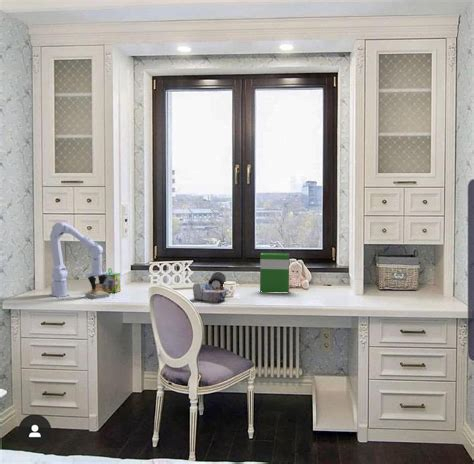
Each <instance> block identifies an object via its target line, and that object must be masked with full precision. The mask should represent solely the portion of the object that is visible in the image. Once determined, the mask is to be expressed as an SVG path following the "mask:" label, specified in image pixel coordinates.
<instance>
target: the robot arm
mask: <svg viewBox="0 0 474 464" xmlns="http://www.w3.org/2000/svg"><path fill="white" fill-rule="evenodd" d="M51 228H52V230H51V232H50V235H49V239H50V245H51V246H50V247H51V251H52V252H51V253H52V259H53V265H54V266H53V268H52V274H51V277H52V280H53V281H52V282H51V289H50V291H51V292H50V294H49V296H53V297H57V298H59V297H60V298H61V297H67V296H70V294H68V293H67V292H68V289H67V287H68V286H67V285H68V282H67V278H68V276H69V272H68V270H67V268H66V265H65V264H64V259H63V252H62V246H61V238H62V236H63V235H64V234H69V235H72V236H73V237H74V238H75V239H76V240H78V241H79V242H80V243H81V246H83V247H84V248H85V249H87V250H88V251H89V253H90V254H91V271H92V272H90V273H85V274H84V275H85V278H87V280H88V281H89V283H90V285H91V286H90V287H91V290H92V289H95V284H96V281H97V278H98V283H99V284H102V287H103V283H104V281H105V279H106V276H105V275H108V273H109V271H103V254H102V253H104V248H103V246H102V245H101V244H98V243H97V242H94V240H93V239H92V238H91V237H88V236H86V237H85V236H84V235H83V234H82V233H80V232H79V230H77V229H76V228H75V227H74V226H73V225H72V224H70V223H69V222H67V221H62V222H60V221H59V222H55V223H54V224H53V226H52V227H51ZM96 277H97V278H96Z"/></svg>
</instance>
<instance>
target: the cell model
mask: <svg viewBox="0 0 474 464" xmlns="http://www.w3.org/2000/svg"><path fill="white" fill-rule="evenodd" d="M208 283H209V282H207V281H199V282H195V283H194V284H193V286H192V292H193V299H194V300H199V301H202V300H203V302H207V301H211V302H210V303H219V302H218V301H220V302H223V301H224V300H225V299H226V298H227V295H229V294H228V292H229V289H227V288H225V287H224V288H223V287H222V286H221V287H220V288H219V289H218V287H216V289H214V287H213V286H212V285H208ZM226 292H227V293H226ZM222 300H223V301H222ZM212 301H213V302H212Z"/></svg>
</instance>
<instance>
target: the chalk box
mask: <svg viewBox="0 0 474 464" xmlns="http://www.w3.org/2000/svg"><path fill="white" fill-rule="evenodd" d="M107 272H108V275H105V276H106V279H105V281H104V283H103V287H102V291H104V292H105V293H109V294H117V293H119V292H121V290H122V289H121V273H120V272H113V270H112V268H111V267H110V268H108V269H107Z"/></svg>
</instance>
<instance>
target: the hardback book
mask: <svg viewBox="0 0 474 464" xmlns="http://www.w3.org/2000/svg"><path fill="white" fill-rule="evenodd" d="M259 259H260V261H259V262H260V264H259V265H260V266H259V267H260V268H259V270H260V273H259V274H260V275H259V277H260V278H259V279H260V280H259V293H260V292H261V291H262V292H288V293H290V253H277V252H276V253H275V252H273V253H272V252H261V253H260V257H259Z"/></svg>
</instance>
